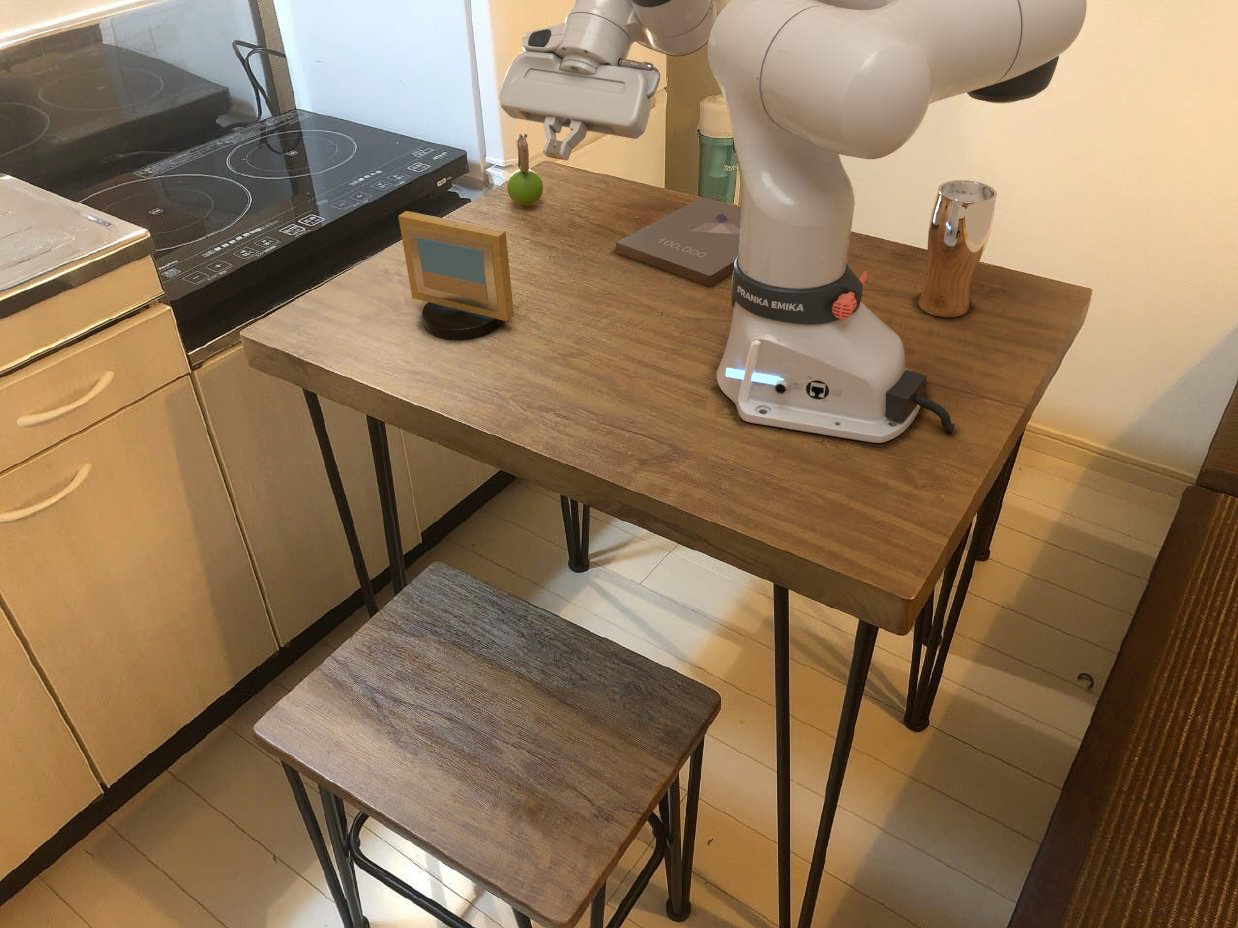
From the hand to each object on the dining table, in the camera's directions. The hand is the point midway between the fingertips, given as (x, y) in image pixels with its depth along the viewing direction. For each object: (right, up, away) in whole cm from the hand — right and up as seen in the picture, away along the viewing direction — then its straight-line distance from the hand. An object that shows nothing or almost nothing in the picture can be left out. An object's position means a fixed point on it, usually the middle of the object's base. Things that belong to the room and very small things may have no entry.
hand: (555, 157), depth 121 cm
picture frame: (-11, -19, -2) cm, 22 cm away
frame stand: (-11, -20, 0) cm, 23 cm away
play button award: (+20, -8, +15) cm, 27 cm away
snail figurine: (-6, +1, +27) cm, 28 cm away
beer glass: (+49, -19, 0) cm, 52 cm away
